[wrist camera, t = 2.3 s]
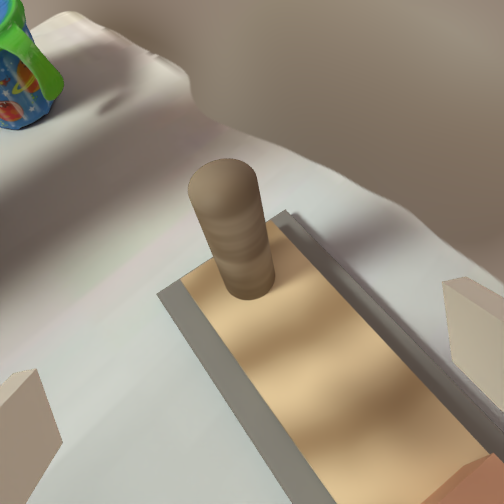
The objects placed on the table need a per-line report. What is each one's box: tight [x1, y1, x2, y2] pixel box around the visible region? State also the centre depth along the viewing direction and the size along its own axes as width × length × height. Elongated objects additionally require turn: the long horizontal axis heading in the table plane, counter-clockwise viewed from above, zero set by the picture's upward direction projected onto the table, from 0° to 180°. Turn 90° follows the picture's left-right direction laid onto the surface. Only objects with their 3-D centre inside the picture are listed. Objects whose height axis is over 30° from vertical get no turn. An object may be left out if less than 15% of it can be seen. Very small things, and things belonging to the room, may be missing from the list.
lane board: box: [157, 210, 504, 504], centre depth 28 cm, size 30×12×1 cm, turn 35°
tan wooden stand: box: [180, 159, 490, 504], centre depth 22 cm, size 28×8×11 cm, turn 35°
